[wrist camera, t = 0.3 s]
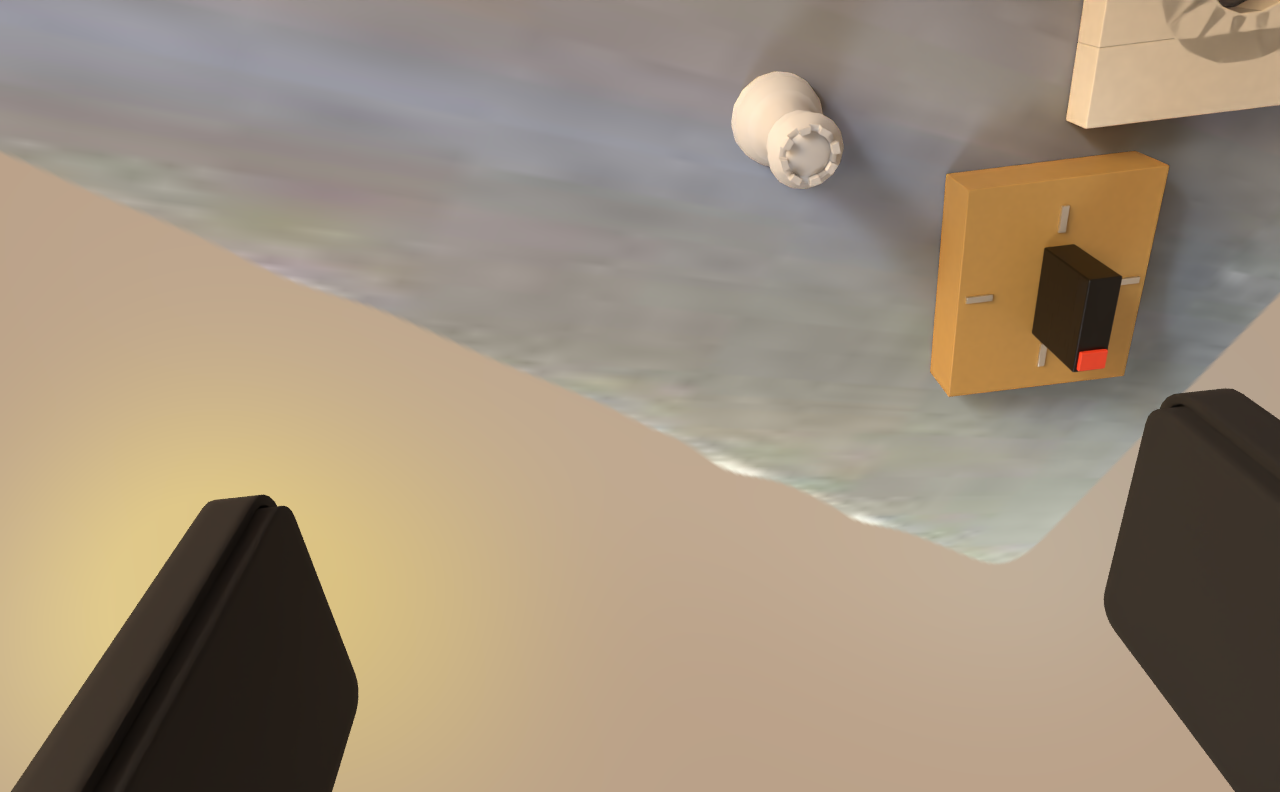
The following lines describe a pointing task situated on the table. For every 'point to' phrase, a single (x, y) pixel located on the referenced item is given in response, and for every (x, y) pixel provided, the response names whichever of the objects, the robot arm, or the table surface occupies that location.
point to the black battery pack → (1076, 307)
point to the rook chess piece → (787, 130)
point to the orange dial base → (1035, 263)
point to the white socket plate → (1173, 60)
